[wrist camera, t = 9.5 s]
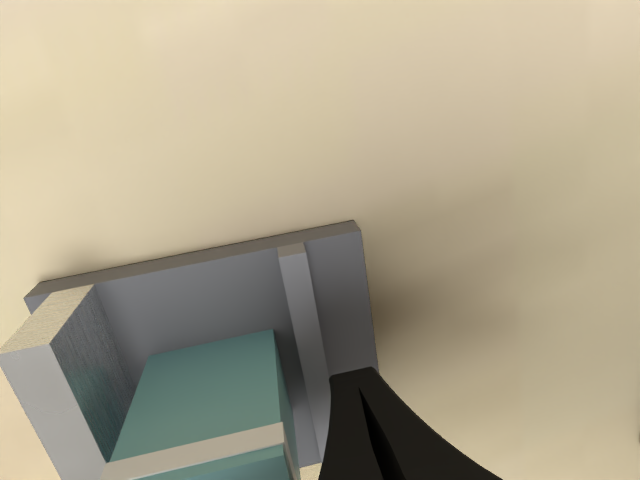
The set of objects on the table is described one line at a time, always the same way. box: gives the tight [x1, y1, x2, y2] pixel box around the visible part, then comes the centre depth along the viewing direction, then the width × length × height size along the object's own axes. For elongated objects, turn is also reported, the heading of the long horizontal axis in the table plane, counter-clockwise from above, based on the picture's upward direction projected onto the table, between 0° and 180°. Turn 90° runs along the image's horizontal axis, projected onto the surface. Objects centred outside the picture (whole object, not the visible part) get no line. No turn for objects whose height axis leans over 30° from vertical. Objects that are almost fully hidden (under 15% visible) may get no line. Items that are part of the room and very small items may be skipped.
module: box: [100, 329, 301, 480], centre depth 12 cm, size 4×4×5 cm
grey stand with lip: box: [24, 220, 379, 468], centre depth 15 cm, size 10×9×2 cm
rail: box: [0, 284, 136, 480], centre depth 13 cm, size 1×9×3 cm, turn 9°
